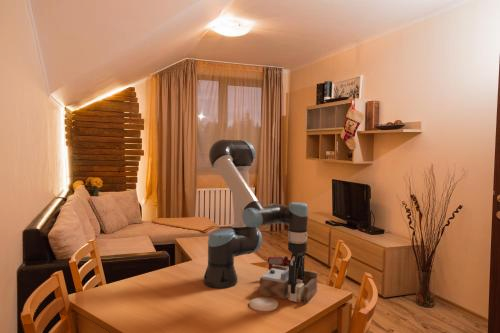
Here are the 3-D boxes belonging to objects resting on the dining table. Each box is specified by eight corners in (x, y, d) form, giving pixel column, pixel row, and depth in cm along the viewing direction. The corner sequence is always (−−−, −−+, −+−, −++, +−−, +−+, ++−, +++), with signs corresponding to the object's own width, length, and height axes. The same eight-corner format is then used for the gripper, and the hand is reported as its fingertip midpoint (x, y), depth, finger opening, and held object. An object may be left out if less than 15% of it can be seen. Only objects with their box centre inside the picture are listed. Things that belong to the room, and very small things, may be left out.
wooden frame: (259, 293, 153) (260, 273, 152) (272, 283, 165) (273, 264, 165) (307, 303, 144) (307, 282, 143) (317, 291, 156) (317, 272, 156)
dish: (244, 307, 139) (244, 305, 139) (256, 297, 149) (256, 295, 149) (271, 313, 134) (271, 311, 134) (282, 302, 144) (282, 300, 144)
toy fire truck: (295, 280, 169) (296, 258, 169) (269, 281, 167) (269, 259, 167) (291, 275, 176) (292, 254, 175) (266, 276, 174) (266, 254, 174)
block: (287, 299, 147) (288, 285, 147) (292, 295, 152) (292, 281, 152) (299, 302, 145) (300, 287, 145) (303, 298, 150) (304, 283, 149)
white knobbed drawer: (261, 278, 152) (261, 270, 152) (272, 270, 163) (272, 262, 163) (283, 282, 148) (284, 274, 148) (294, 273, 159) (294, 265, 159)
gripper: (299, 247, 137) (297, 308, 138) (313, 237, 154) (311, 291, 155) (280, 245, 141) (278, 304, 142) (296, 235, 157) (294, 288, 158)
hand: (295, 297), depth 148 cm, fingers open, 6 cm apart
